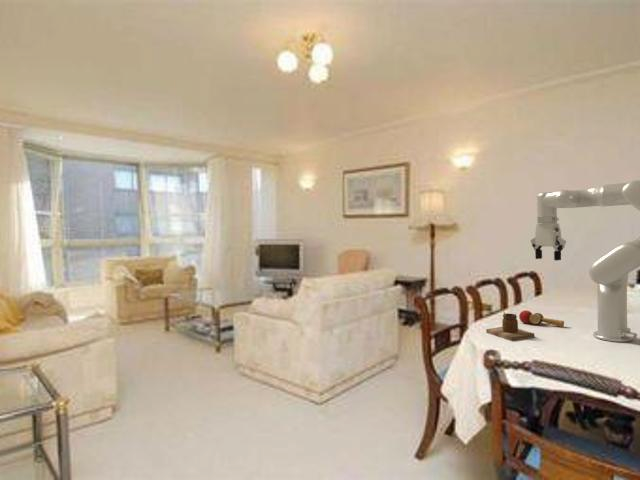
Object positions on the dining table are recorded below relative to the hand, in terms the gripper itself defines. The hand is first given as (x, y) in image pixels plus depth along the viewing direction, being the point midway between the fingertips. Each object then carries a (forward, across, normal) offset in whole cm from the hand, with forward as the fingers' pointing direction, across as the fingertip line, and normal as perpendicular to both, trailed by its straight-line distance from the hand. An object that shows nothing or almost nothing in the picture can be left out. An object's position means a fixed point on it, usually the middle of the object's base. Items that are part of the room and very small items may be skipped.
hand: (547, 259), depth 177 cm
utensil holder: (+29, -1, +23) cm, 37 cm away
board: (+30, -1, +23) cm, 38 cm away
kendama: (+31, +6, -1) cm, 31 cm away
